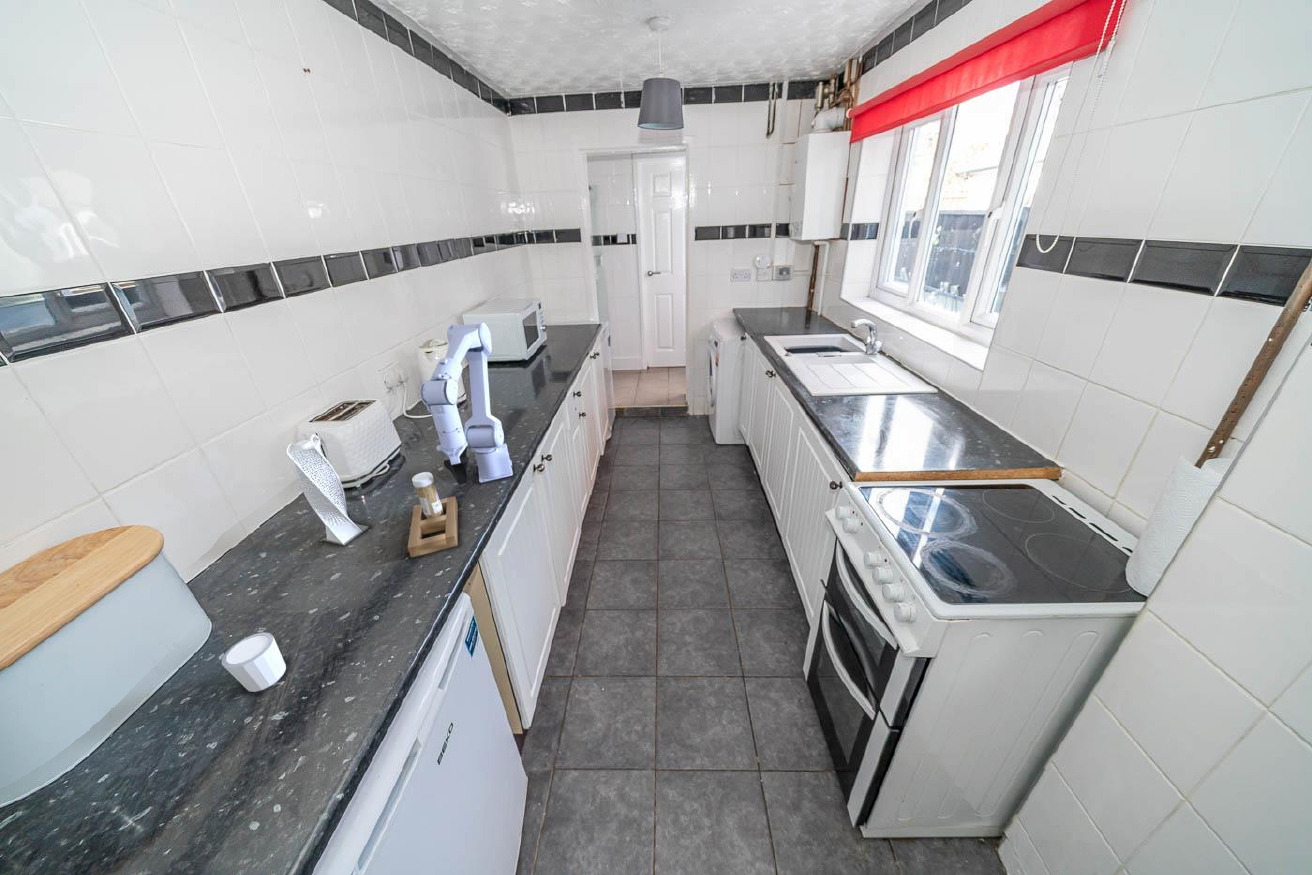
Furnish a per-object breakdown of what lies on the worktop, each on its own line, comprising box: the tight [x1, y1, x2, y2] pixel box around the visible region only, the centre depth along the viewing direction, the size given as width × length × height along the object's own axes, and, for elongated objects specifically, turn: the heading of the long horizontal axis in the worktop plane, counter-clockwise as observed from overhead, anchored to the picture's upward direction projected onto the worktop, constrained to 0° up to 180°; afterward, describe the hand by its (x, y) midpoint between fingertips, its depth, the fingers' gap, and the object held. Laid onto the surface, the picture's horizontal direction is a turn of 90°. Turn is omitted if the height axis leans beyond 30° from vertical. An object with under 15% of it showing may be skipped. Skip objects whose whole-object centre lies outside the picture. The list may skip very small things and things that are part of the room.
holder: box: [407, 495, 459, 558], centre depth 112 cm, size 10×18×3 cm, turn 21°
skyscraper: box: [285, 433, 370, 546], centre depth 106 cm, size 8×8×28 cm
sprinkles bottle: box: [411, 471, 445, 520], centre depth 113 cm, size 5×5×14 cm
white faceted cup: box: [221, 632, 287, 693], centre depth 77 cm, size 7×7×7 cm
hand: (463, 475), depth 116 cm, fingers open, 7 cm apart
